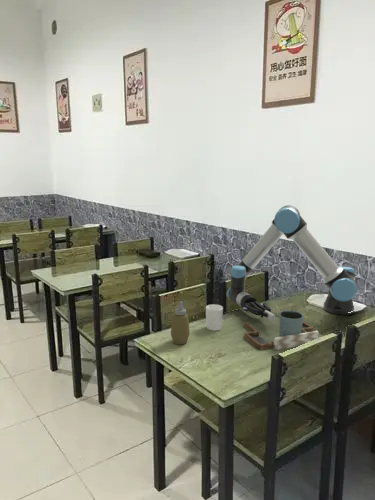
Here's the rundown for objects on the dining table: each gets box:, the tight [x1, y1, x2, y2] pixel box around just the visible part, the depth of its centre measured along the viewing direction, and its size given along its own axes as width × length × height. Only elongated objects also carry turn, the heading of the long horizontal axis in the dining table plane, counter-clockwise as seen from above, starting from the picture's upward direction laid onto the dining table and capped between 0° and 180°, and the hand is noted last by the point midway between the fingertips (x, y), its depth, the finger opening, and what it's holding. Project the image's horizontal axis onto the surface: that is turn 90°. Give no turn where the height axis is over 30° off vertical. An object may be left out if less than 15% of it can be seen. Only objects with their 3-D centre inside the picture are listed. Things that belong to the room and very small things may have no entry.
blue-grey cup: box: [278, 310, 304, 337], centre depth 179 cm, size 10×10×12 cm
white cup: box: [205, 303, 224, 331], centre depth 192 cm, size 8×8×10 cm
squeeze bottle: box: [170, 300, 191, 345], centre depth 175 cm, size 8×8×18 cm
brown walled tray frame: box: [242, 320, 320, 351], centre depth 186 cm, size 33×26×5 cm
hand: (273, 317), depth 189 cm, fingers closed
